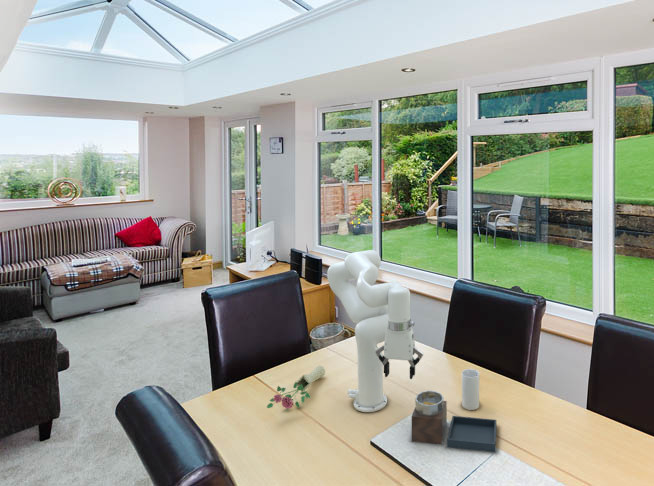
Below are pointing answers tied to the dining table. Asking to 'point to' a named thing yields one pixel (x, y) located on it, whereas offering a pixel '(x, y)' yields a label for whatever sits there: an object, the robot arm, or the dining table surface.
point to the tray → (472, 434)
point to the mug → (470, 389)
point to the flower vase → (298, 388)
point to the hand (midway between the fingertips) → (399, 376)
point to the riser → (429, 427)
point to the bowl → (431, 398)
